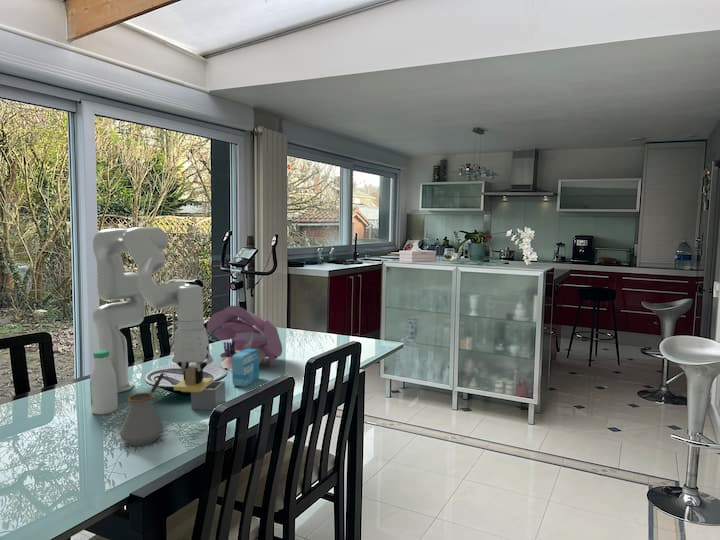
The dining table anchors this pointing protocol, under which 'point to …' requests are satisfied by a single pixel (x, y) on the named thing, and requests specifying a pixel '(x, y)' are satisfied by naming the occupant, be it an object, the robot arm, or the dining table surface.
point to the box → (209, 396)
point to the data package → (245, 367)
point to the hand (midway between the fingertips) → (193, 381)
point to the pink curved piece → (245, 334)
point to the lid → (192, 381)
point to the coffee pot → (142, 419)
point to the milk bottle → (103, 384)
